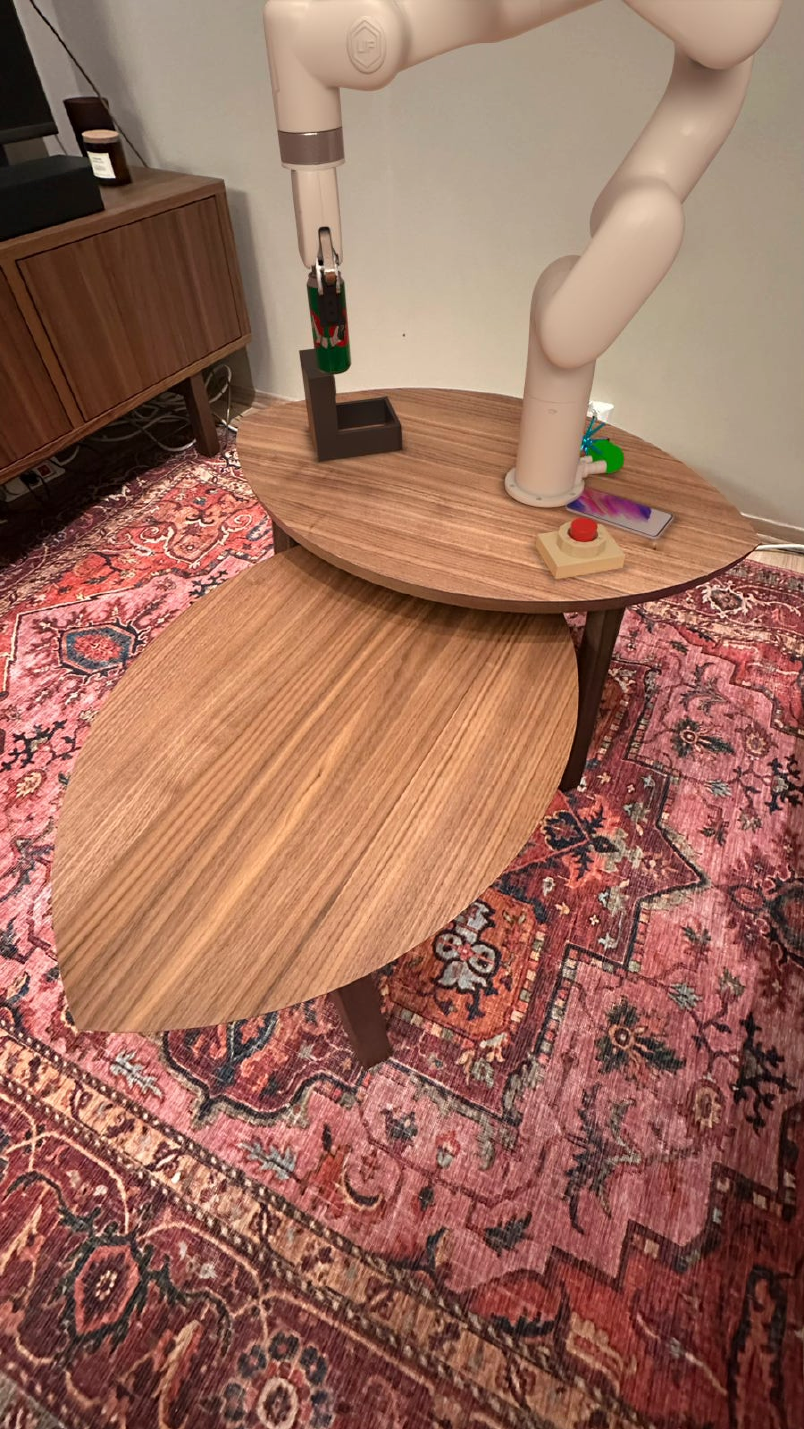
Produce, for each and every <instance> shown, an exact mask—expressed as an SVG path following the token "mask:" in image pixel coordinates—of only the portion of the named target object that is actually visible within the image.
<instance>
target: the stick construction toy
mask: <svg viewBox="0 0 804 1429" xmlns="http://www.w3.org/2000/svg"><path fill="white" fill-rule="evenodd" d="M591 417H592V419H591V421H590V423H589V426H588V428H587V429H586V431H585V433H584V434H583V440H582V445H581V451H580V453H582V450H583V449H584V452H585V456H592V462H594V461H601V460H605V462H606V464H607V469H606V472H605V473H604V474H614V473H617V472H619V471H620V470H621V469H622V468H624V464H625V454H624V451H623V450H622V448H621V447H619V445H617V444H614V443H613V442H612V441H611V438H608V437H607V438H591V437H592V436H593V435H595V434H596V433H597V432H599V430H601V429H602V428H603V427H606V426H607V424H606V422H602V423H600V424H599V425H598V426H596V427H595V428H594V429H593V427H594V423H595V420H596V416H595V415H594V414H593V415H592V416H591Z"/></svg>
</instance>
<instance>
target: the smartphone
mask: <svg viewBox="0 0 804 1429" xmlns="http://www.w3.org/2000/svg"><path fill="white" fill-rule="evenodd" d="M565 510H566V511H568V512H571V513H574V514H575V515H579V516H583V517H584V518H588V519H591V520H593V521H597V522H601V523H602V524H607V525H610V526H612V527H615V528H618V529H621V530H624V531H628V532H630V533H633V534H637V535H639V536H642V537H645V538H649V539H651V540H657V539H659V538H660V537H661V536H662V534H663V533H664V532H665V531H666V529H667V528H668V527H669V526H670V525H671V523H672V522H673V521H674V519H675V516H674V515H673V514H672V513H669V512H666V511H663V510H661V509H657V508H654V507H650V506H647V505H645V504H640V503H638V502H636V501H635V502H634V501H632V500H628V499H625V498H622V497H619V496H616V495H613V494H610V493H607V492H604V491H600V490H598V489H595V488H591V487H587V486H584V490H583V493H582V494H581V496H580V497H579V498H577V499H576V500H574V501H573V502H570V503H568V504H567V505H565Z"/></svg>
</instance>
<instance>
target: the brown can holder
mask: <svg viewBox="0 0 804 1429" xmlns="http://www.w3.org/2000/svg"><path fill="white" fill-rule="evenodd" d="M298 353H299V361H300V369H301V376H302V384H303V391H304V399H305V400H304V401H305V407H306V414H307V415H306V416H307V421H308V428H309V433H310V437H311V441H312V443H313V447H314V451H315V454H316V457H317V461H318V463H319V462H327V461H333V460H340V459H349V458H355V457H362V456H363V457H364V456H370V455H377V454H378V455H379V454H385V453H390V452H399V451H403V426H402V423H401V421H400V419H399V417H398V415H397V413H396V411H395V409H394V407H393V404H392V403H391V400H390V399H389V397H388V396H381V397H379V396H378V397H372V398H364V399H358V400H357V399H356V400H350V401H340V402H337V398H336V397H337V396H338V394H337V385H336V377H335V375H329V374H324V373H322V372H321V371H320V370H319V369H318V368H317V367H316V359H315V351H314V348H307V349H301V350H300V349H299V350H298ZM382 424H384V425H382ZM372 425H373V426H372ZM374 425H378V426H374ZM366 426H369V427H366ZM358 427H359V428H358ZM360 427H362V428H360ZM352 428H355V429H352ZM344 429H345V430H344ZM346 429H349V430H346ZM340 430H341V431H340Z"/></svg>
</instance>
